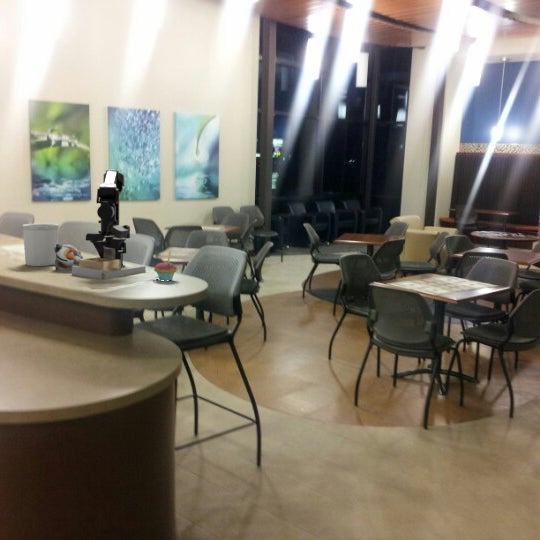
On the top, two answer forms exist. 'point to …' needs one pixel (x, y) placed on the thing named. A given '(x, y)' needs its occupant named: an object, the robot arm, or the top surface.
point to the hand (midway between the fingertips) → (108, 257)
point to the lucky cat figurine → (66, 256)
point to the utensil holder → (40, 244)
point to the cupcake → (165, 270)
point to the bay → (103, 274)
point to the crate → (102, 261)
